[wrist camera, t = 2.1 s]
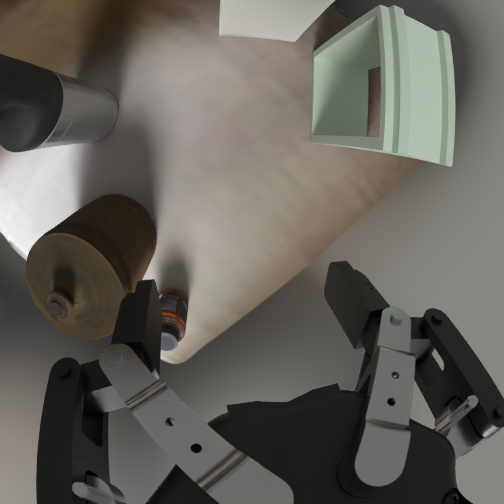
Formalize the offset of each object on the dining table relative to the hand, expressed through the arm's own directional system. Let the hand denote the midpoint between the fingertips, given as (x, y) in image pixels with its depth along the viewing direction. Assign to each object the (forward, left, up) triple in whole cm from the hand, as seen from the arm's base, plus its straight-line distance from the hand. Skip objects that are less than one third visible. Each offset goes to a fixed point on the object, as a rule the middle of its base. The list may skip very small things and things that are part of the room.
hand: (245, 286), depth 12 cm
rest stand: (+18, +15, -32) cm, 40 cm away
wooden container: (-19, -9, -32) cm, 38 cm away
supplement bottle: (-10, -22, -32) cm, 40 cm away
